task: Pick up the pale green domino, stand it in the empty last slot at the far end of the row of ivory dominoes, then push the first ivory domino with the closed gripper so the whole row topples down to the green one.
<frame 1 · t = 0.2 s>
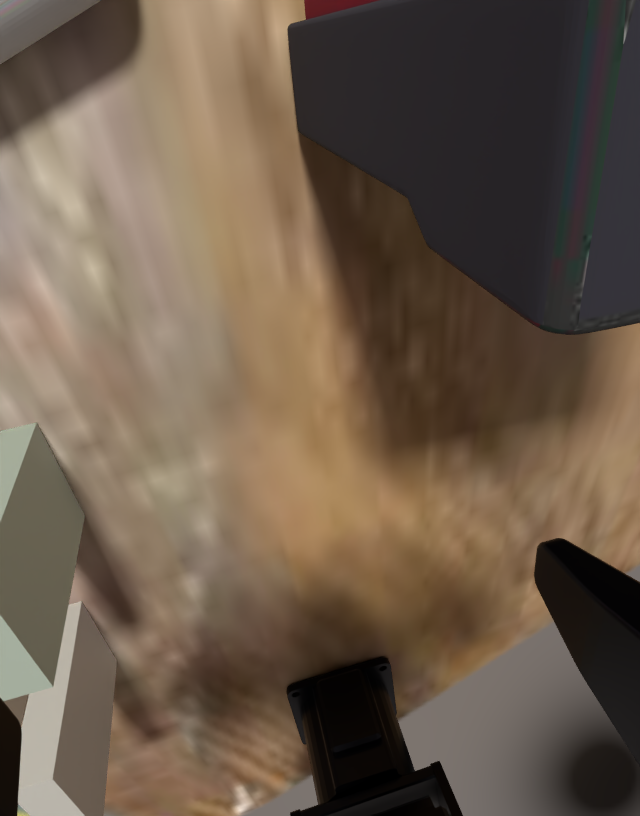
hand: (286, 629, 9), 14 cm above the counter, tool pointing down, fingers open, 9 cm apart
dark grey upright block: (452, 57, 18), on the counter
domino 5: (42, 476, 23), on the counter
domino 1: (84, 637, 28), on the counter
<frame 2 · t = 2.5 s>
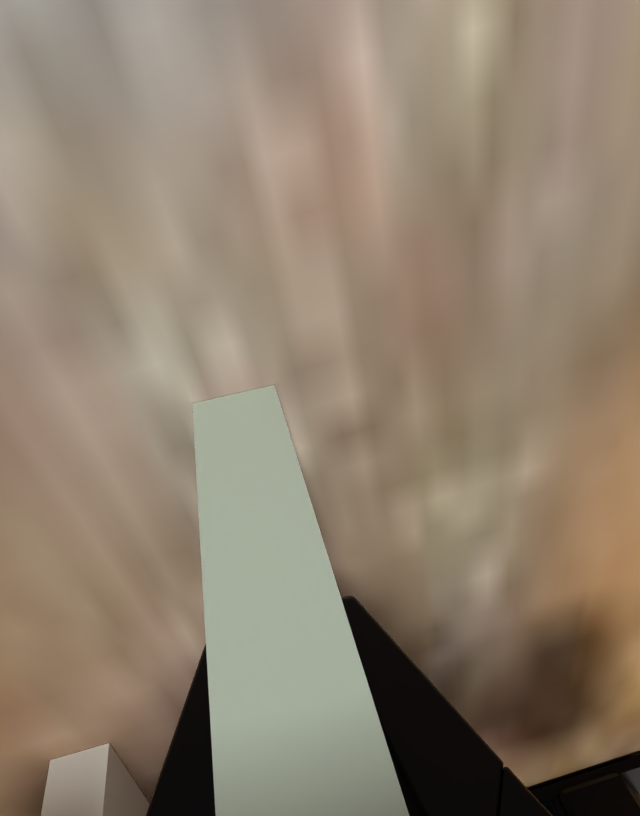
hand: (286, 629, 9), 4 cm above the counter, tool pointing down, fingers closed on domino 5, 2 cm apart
domino 2: (110, 792, 17), on the counter
domino 5: (258, 491, 12), on the counter, touching gripper
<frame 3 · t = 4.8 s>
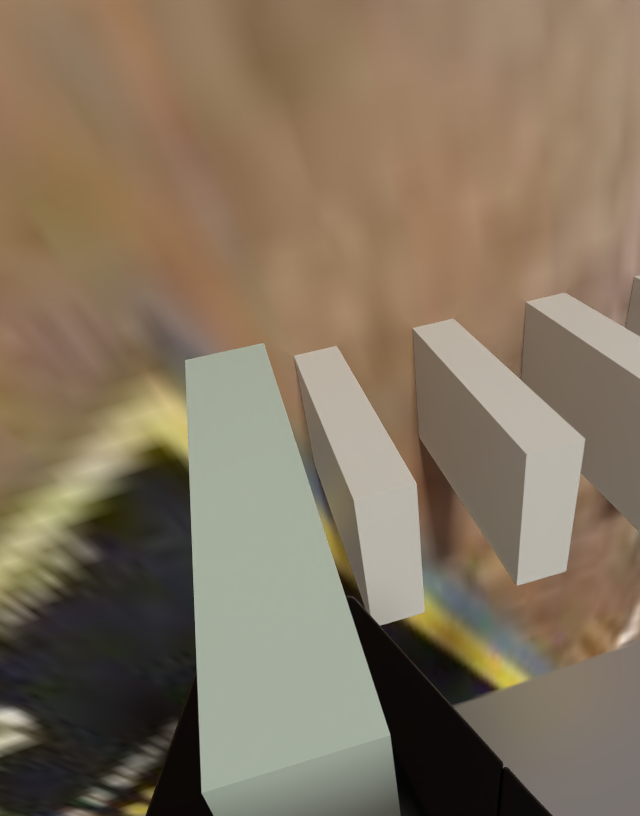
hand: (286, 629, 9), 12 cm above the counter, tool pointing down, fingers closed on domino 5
domino 4: (324, 408, 22), on the counter
domino 2: (540, 355, 23), on the counter
domino 3: (435, 381, 22), on the counter
domino 5: (249, 449, 13), point 8 cm above the counter, touching gripper
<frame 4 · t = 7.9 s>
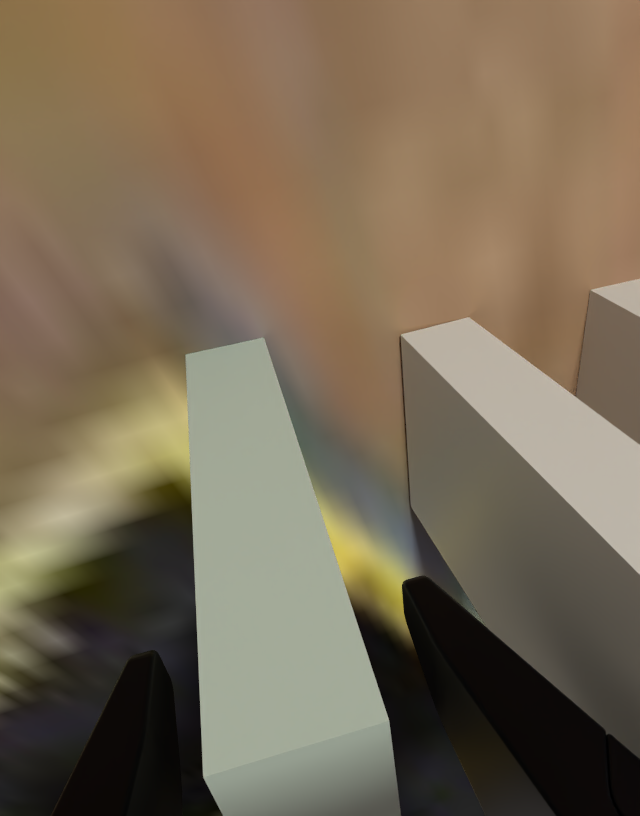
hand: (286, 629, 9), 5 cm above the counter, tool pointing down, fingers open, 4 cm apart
domino 4: (437, 420, 13), on the counter
domino 3: (606, 377, 14), on the counter
domino 5: (249, 444, 13), on the counter
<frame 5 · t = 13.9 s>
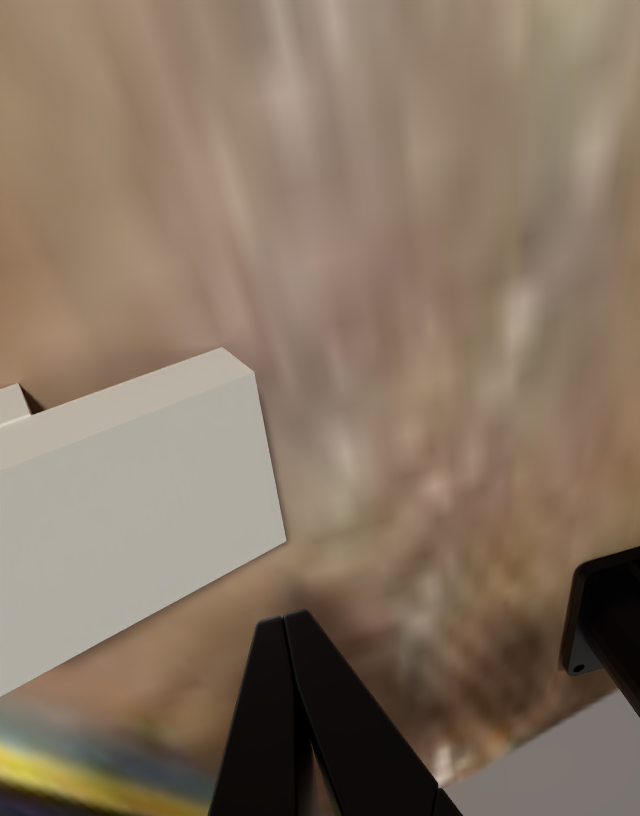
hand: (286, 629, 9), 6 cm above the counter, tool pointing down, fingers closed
domino 2: (65, 487, 13), point 1 cm above the counter, tilted 70°, touching domino 1, domino 3
domino 1: (256, 449, 14), point 1 cm above the counter, tilted 70°, touching domino 2
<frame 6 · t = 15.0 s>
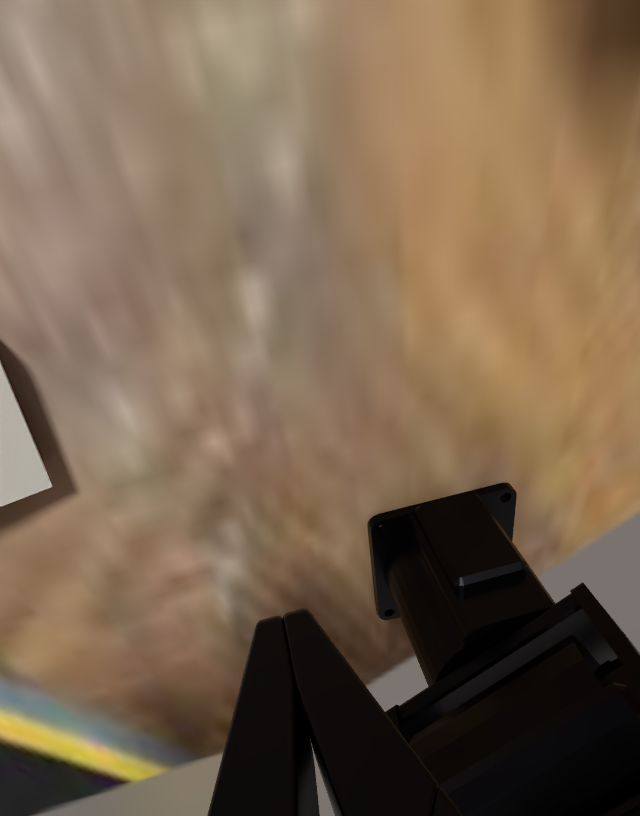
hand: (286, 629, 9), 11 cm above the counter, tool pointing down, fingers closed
domino 1: (20, 409, 17), point 1 cm above the counter, tilted 70°, touching domino 2
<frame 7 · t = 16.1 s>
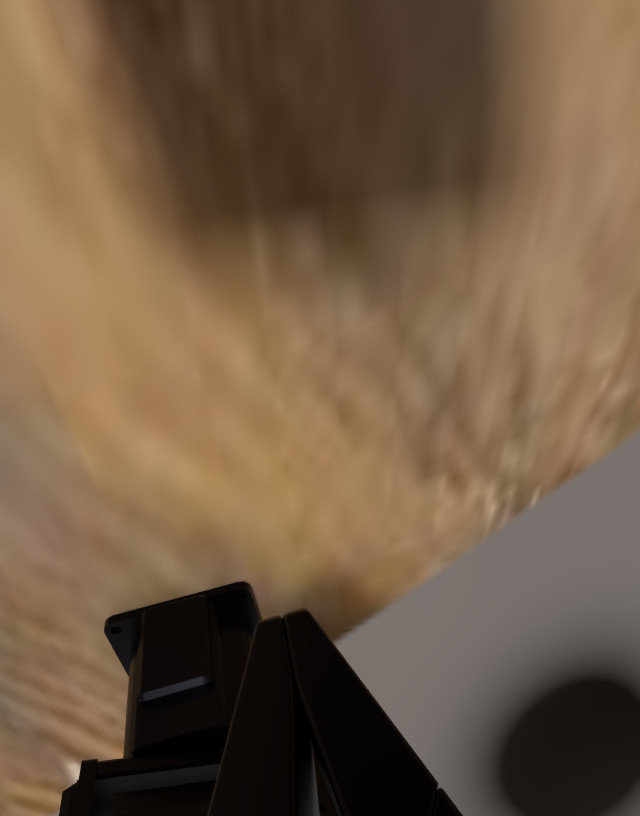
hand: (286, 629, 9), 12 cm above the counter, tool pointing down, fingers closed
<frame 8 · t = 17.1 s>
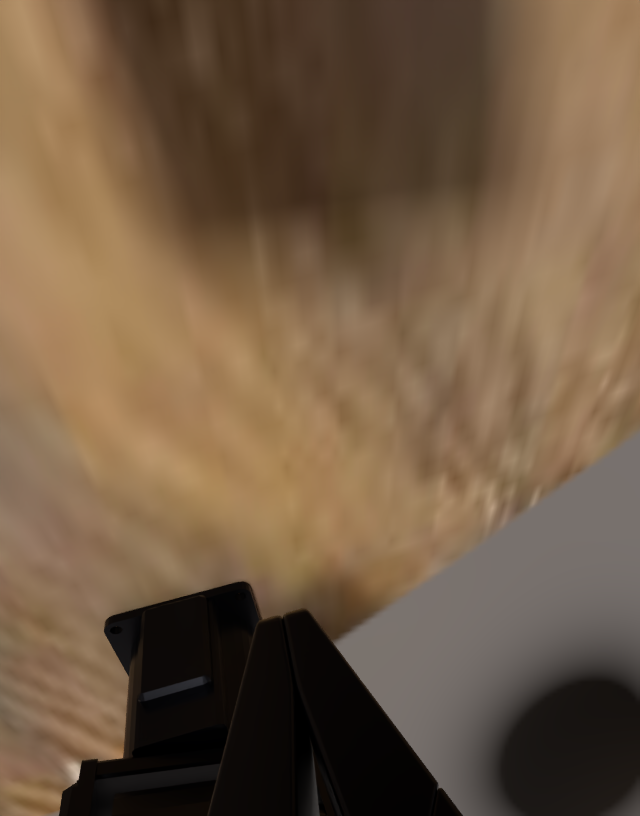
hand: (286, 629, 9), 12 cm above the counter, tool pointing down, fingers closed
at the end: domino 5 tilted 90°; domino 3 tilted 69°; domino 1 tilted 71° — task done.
